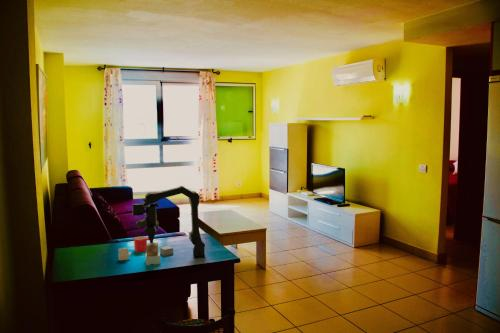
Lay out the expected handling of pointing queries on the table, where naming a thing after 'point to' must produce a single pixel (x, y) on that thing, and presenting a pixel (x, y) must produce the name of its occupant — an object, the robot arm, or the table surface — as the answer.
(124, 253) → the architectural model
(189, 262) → the table surface
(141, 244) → the mug
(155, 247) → the walnut cube
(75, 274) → the table surface
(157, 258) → the plinth block
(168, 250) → the tan wooden block
